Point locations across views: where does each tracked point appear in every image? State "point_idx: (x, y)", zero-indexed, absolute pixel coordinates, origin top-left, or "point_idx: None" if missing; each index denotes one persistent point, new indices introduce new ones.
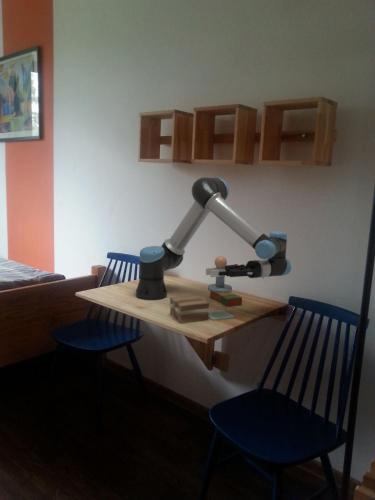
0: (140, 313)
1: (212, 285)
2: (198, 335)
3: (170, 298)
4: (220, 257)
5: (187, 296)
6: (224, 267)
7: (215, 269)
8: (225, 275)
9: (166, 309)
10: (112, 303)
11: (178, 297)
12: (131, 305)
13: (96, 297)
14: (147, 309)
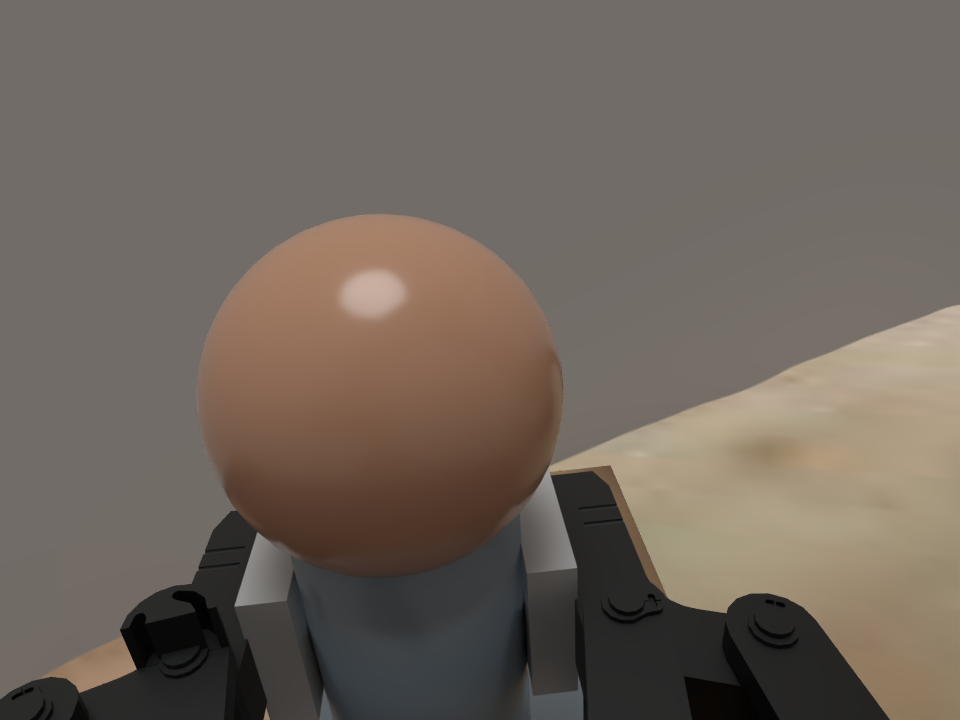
0: (637, 443)
1: (557, 711)
2: (114, 645)
3: (609, 468)
4: (296, 235)
5: (655, 579)
6: (296, 560)
7: None
8: (269, 716)
9: (731, 568)
10: (824, 366)
11: (622, 511)
12: (802, 421)
13: (926, 327)
14: (722, 475)
